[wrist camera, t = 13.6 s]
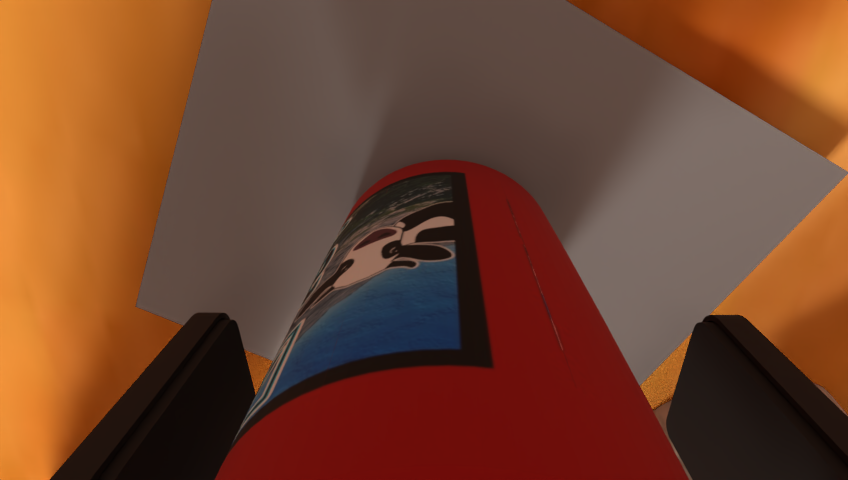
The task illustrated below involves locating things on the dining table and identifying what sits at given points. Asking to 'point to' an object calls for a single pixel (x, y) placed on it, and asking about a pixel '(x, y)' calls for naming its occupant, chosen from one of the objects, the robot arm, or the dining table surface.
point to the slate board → (465, 157)
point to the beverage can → (449, 351)
